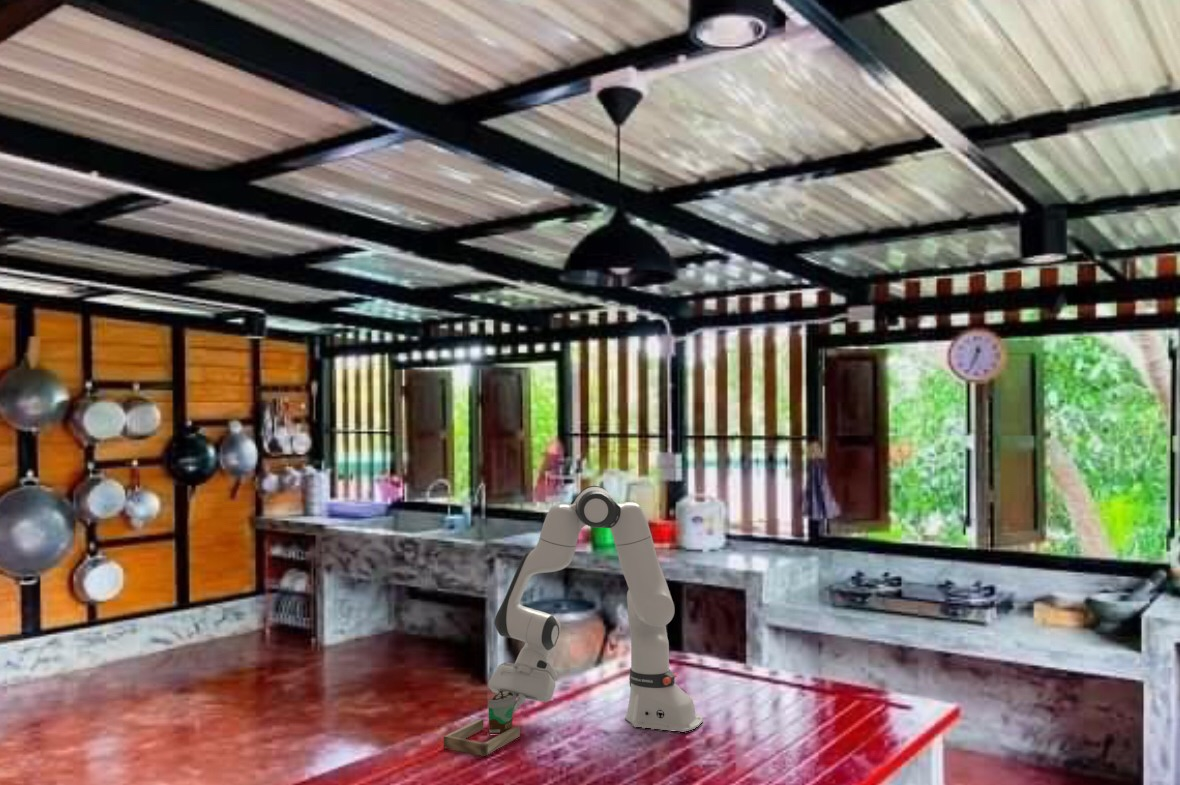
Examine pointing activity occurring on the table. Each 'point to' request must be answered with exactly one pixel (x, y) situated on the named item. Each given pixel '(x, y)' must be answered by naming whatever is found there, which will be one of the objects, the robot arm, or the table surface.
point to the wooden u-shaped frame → (462, 744)
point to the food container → (501, 711)
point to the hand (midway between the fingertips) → (510, 709)
